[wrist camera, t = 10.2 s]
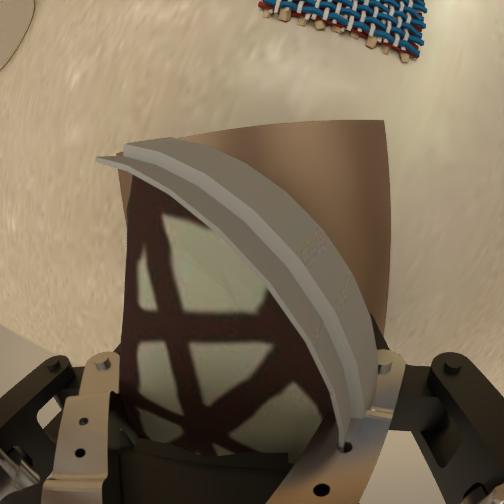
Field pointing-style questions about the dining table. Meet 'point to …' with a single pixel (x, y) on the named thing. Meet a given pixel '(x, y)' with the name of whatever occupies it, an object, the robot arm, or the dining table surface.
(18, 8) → the mug
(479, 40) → the dining table surface
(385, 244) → the walnut base
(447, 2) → the dining table surface
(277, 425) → the food container
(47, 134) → the dining table surface
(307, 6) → the woven mat
